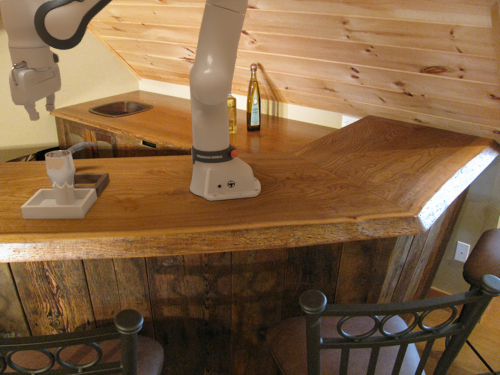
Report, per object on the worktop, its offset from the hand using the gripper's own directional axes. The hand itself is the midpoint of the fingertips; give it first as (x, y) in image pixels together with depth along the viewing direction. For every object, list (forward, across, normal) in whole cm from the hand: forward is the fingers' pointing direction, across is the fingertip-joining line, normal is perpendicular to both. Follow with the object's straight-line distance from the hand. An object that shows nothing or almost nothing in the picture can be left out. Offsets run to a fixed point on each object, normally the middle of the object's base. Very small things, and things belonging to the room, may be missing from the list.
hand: (43, 115), depth 104 cm
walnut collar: (+27, +13, -2) cm, 30 cm away
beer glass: (+26, +2, -1) cm, 26 cm away
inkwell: (+27, +30, +7) cm, 41 cm away
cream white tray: (+27, 0, 0) cm, 27 cm away
